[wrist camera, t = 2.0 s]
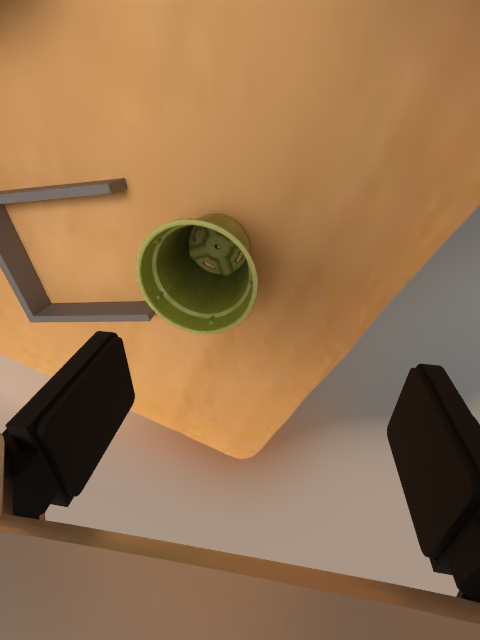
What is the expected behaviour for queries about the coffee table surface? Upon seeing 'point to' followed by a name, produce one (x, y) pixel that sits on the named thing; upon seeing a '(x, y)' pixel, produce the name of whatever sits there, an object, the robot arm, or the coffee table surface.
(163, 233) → the plant pot
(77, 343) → the coffee table surface
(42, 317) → the bay
